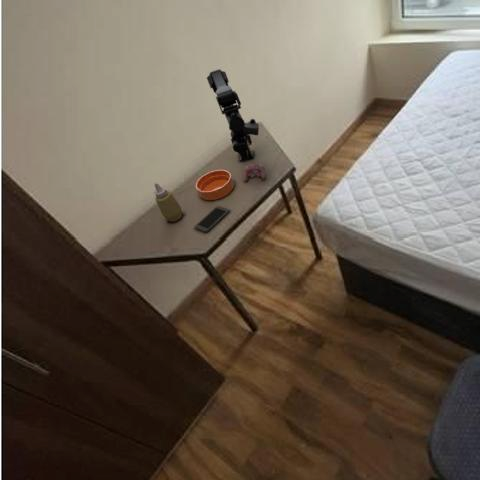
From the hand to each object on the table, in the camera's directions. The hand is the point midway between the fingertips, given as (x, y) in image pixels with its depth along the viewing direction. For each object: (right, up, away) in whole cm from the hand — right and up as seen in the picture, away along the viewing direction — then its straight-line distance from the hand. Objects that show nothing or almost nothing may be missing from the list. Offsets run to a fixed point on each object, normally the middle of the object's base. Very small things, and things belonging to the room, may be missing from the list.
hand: (247, 154), depth 171 cm
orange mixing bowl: (-15, -14, +7) cm, 22 cm away
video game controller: (+2, -9, +9) cm, 12 cm away
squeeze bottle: (-30, -27, -2) cm, 41 cm away
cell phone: (-13, -29, -8) cm, 32 cm away
